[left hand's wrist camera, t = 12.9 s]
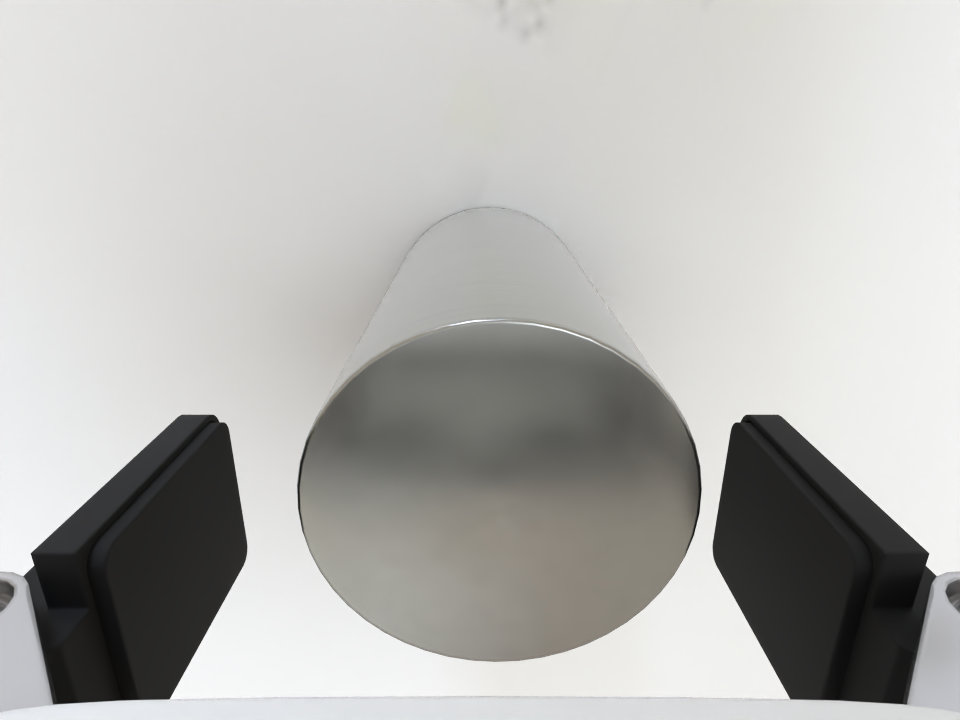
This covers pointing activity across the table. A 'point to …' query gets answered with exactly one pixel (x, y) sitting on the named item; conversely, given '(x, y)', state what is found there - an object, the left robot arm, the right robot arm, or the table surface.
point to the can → (497, 454)
